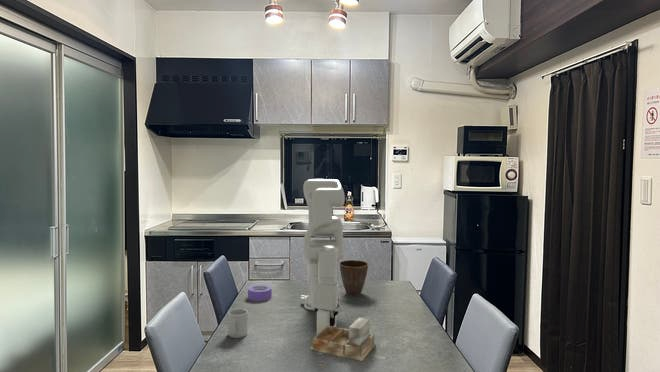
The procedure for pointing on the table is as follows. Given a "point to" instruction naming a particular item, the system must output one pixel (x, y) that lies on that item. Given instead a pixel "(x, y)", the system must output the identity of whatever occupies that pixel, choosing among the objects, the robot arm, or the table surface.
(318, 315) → the panel
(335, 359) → the table surface
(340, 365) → the table surface
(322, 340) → the rack
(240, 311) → the cup
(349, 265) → the plant pot
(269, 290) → the tape roll
